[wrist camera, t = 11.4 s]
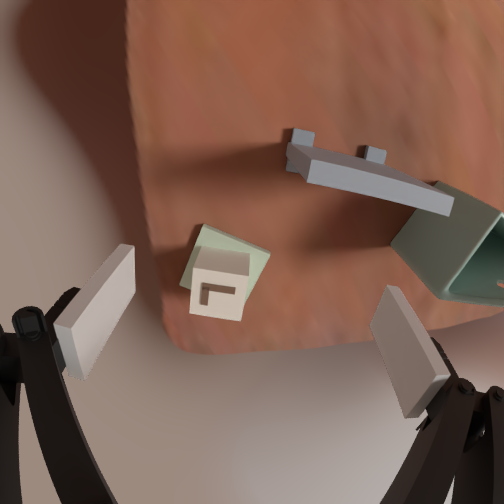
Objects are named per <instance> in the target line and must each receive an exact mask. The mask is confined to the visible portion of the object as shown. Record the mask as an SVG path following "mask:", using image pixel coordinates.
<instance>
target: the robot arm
mask: <svg viewBox="0 0 504 504" xmlns="http://www.w3.org/2000/svg"><path fill="white" fill-rule="evenodd" d="M134 293H135V260H134V246H131V245H125V244H120V245H119V246H118V247H117V248H116V250H115V251H114V252H113V253H112V254H111V255H110V256H109V257H108V258H107V259H106V261H105V262H104V263H103V264H102V265H101V266H100V267H99V269H98V270H97V271H96V272H95V273H94V274H93V276H92V277H91V278H90V279H89V280H88V282H87V283H86V284H85V285H84V286H83V287H82V288H81V289H80V288H76V287H73V288H71V289H69V290H68V291H66V292H64V294H63V295H62V296H61V297H60V298H59V300H57V302H56V303H55V304H54V306H52V307H51V309H50V310H49V311H48V312H47V313H46V315H45V316H44V314H43V312H42V310H41V309H39V308H38V307H33V306H28V307H24V308H21V309H19V310H18V311H16V312H15V313H14V315H13V316H12V323H13V326H14V329H15V332H16V333H4V331H3V328H2V326H1V324H0V504H22V496H21V486H20V472H19V445H18V431H19V428H18V427H19V403H20V390H21V383H24V384H25V388H26V394H27V398H28V403H29V407H30V411H31V415H32V419H33V423H34V427H35V430H36V434H37V438H38V441H39V444H40V447H41V450H42V454H43V457H44V460H45V462H46V465H47V468H48V471H49V474H50V476H51V479H52V482H53V484H54V487H55V489H56V492H57V494H58V496H59V498H60V501H61V503H62V504H118V503H117V501H116V499H115V497H114V496H113V494H112V492H111V490H110V488H109V486H108V485H107V483H106V481H105V479H104V477H103V475H102V473H101V471H100V469H99V467H98V465H97V463H96V461H95V459H94V456H93V454H92V452H91V450H90V447H89V445H88V443H87V441H86V438H85V436H84V434H83V431H82V429H81V426H80V424H79V421H78V419H77V416H76V413H75V411H74V408H73V405H72V403H71V400H70V397H69V394H68V391H67V388H66V385H65V382H64V379H63V376H62V372H63V370H64V368H65V367H66V368H67V371H68V374H69V376H71V377H74V378H77V379H80V380H83V381H85V380H86V378H87V376H88V374H89V373H90V371H91V369H92V367H93V365H94V363H95V361H96V360H97V358H98V356H99V354H100V352H101V350H102V349H103V347H104V345H105V343H106V341H107V340H108V338H109V336H110V334H111V333H112V331H113V329H114V327H115V326H116V324H117V322H118V320H119V319H120V317H121V315H122V313H123V312H124V310H125V308H126V307H127V305H128V303H129V302H130V300H131V298H132V297H133V295H134ZM369 327H370V329H371V331H372V334H373V336H374V339H375V341H376V343H377V346H378V348H379V351H380V353H381V356H382V358H383V361H384V364H385V366H386V369H387V371H388V374H389V377H390V379H391V382H392V385H393V387H394V390H395V392H396V395H397V398H398V401H399V404H400V407H401V409H402V412H403V415H404V418H416V417H419V416H420V415H421V414H422V412H423V411H424V410H425V409H426V410H427V413H428V416H427V417H426V418H425V419H424V420H423V422H422V423H421V424H420V425H419V426H418V427H417V429H416V430H418V429H419V428H420V430H419V432H418V434H417V437H416V439H415V441H414V443H413V445H412V447H411V449H410V451H409V453H408V455H407V457H406V459H405V461H404V463H403V464H402V466H401V468H400V470H399V472H398V474H397V475H396V477H395V479H394V481H393V483H392V484H391V486H390V488H389V489H388V491H387V493H386V494H385V496H384V498H383V499H382V501H381V502H380V504H444V502H445V499H446V497H447V494H448V491H449V489H450V486H451V484H452V481H453V478H454V476H455V478H454V487H453V495H452V502H451V504H504V390H503V389H502V388H500V387H498V386H492V387H490V389H489V390H488V391H487V392H486V393H482V392H478V391H476V389H475V387H474V386H473V384H472V383H471V382H469V381H468V380H466V379H464V378H459V377H458V375H457V373H456V371H455V370H454V368H453V366H452V364H451V363H450V361H449V359H447V356H446V354H445V353H444V350H443V349H442V347H441V346H440V344H439V343H438V342H437V341H436V340H435V339H434V338H432V337H429V335H428V334H427V332H426V330H425V328H424V327H423V325H422V323H421V322H420V320H419V319H418V317H417V315H416V314H415V312H414V310H413V309H412V307H411V306H410V304H409V303H408V301H407V299H406V298H405V296H404V295H403V293H402V292H401V290H400V289H399V287H397V286H390V285H386V287H385V290H384V292H383V295H382V297H381V300H380V302H379V304H378V307H377V309H376V311H375V314H374V316H373V318H372V321H371V323H370V325H369ZM484 430H485V432H484V435H483V431H484Z"/></svg>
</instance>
